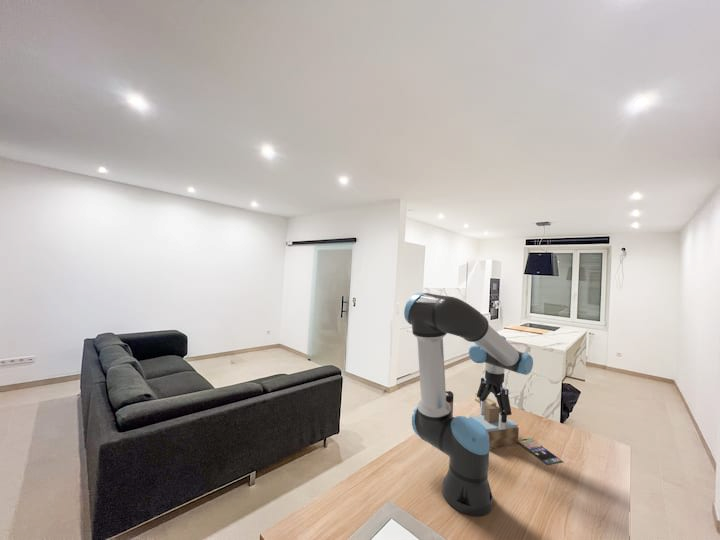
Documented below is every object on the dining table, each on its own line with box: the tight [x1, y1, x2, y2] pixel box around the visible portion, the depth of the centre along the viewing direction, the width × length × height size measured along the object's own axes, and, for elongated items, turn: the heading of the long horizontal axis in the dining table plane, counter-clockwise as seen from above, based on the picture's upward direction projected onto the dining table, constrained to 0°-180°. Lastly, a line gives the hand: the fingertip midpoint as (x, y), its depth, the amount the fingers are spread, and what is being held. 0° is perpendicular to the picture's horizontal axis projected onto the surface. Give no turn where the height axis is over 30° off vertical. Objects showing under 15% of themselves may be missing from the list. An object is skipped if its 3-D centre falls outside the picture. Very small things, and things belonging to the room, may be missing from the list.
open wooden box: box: [488, 408, 520, 450], centre depth 132 cm, size 17×15×10 cm
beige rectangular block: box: [474, 392, 497, 406], centre depth 143 cm, size 3×11×3 cm, turn 17°
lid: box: [469, 404, 519, 432], centre depth 129 cm, size 16×11×8 cm
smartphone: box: [517, 437, 564, 466], centre depth 122 cm, size 8×15×1 cm, turn 17°
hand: (492, 422), depth 129 cm, fingers closed on lid, 11 cm apart
